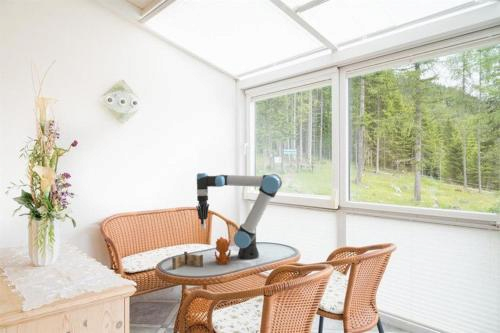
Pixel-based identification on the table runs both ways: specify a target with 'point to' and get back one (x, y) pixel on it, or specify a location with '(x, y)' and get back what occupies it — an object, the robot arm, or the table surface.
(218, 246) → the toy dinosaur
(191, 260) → the fence panel hinged
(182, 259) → the fence panel fixed
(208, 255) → the table surface
